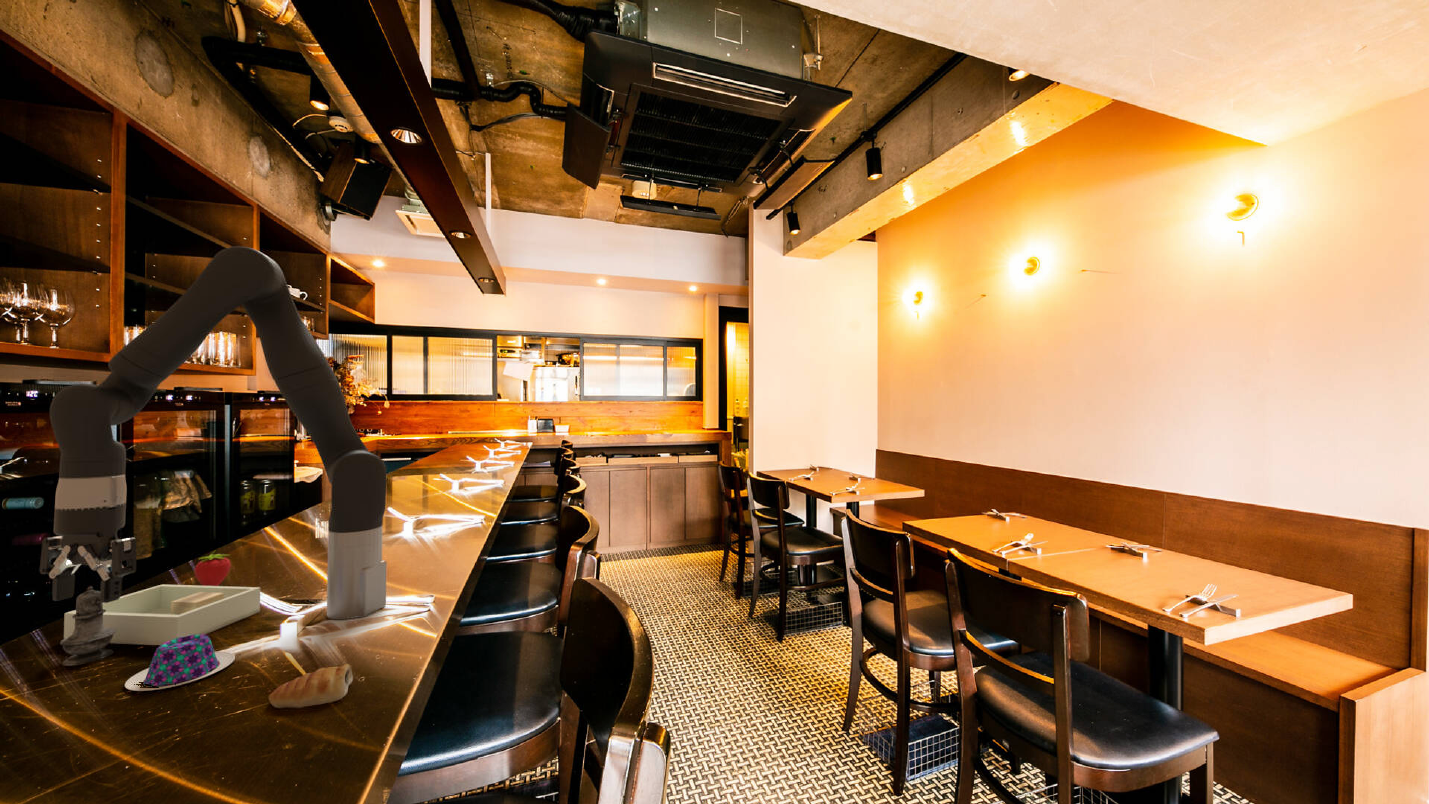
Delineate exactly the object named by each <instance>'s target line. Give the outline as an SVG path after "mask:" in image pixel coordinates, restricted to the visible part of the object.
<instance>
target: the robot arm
mask: <svg viewBox="0 0 1429 804" xmlns="http://www.w3.org/2000/svg"><path fill="white" fill-rule="evenodd" d="M241 306H242V308H243V309H244V311H245V312H246V314H247V315H248V317H249V319H250V320H251V322H252V324H253V325H254V328H255V329H256V331H257V335H258V337H259V340H260V341H259V342H260V343H261V348H262V352H263V355H264V360H265V364H266V366H267V369H268V371H269V374H270V375H271V378H272V380H273V381H274V383H275V385H276V387H277V388H278V390H279V392H280V393H281V395H282V398H283V399H284V400H285V402H286V404H287V405H288V407H289V409H290V410H291V411H292V413H293V414H294V416H295V418H296V419H297V420H298V421H299V423H300V424H301V426H302V427H303V428H304V430H305V431H306V432H307V434H308V436H309V437H310V438H311V440H312V442H313V444H314V446H315V448H316V451H317V453H318V455H319V457H320V460H321V463H322V465H323V467H324V470H325V473H326V477H327V479H328V481H329V483H330V485H331V501H330V502H331V504H330V505H331V506H330V507H331V508H330V512H329V517H328V529H327V530H328V531H327V532H328V533H327V537H328V538H327V573H326V574H327V581H326V582H327V584H326V617H327V618H329V619H332V620H345V619H346V620H347V619H353V618H360V617H362V618H363V617H367V616H368V615H370V614H372V613H374V612H376V611H378V610H379V609H382V608H383V606H384V607H385V606H387V568H388V567H387V566H388V565H387V564H388V563H387V561H386V560H383V527H384V523H383V522H384V521H383V520H384V514H385V512H386V505H387V502H386V500H387V483H388V482H387V477H388V476H387V475H388V474H387V466H386V465H385V462H384V461H383V460H382V458H380V456H378V455H377V454H374V453H372V452H370V450H369V449H368V448H367V446H366V445H365V444H364V442H363V441H362V439H361V437H360V436H359V434H358V433H357V431H356V429H355V427H354V425H353V423H352V421H351V417H350V414H349V410H348V406H347V403H346V402H347V401H346V400H345V396H344V394H343V393H344V392H343V390H342V387H341V385H340V383H339V380H338V379H337V376H336V374H335V373H334V371H333V369H332V367H331V364H330V362H329V361H328V359H327V358H326V356H325V354H324V352H323V351H322V349H321V347H320V346H319V344H318V342H316V339H315V337H314V336H313V335H312V333H311V332H310V330H309V329H308V327H307V326H306V324H305V322H304V321H303V319H302V317H301V315H300V314H299V311H298V309H297V306H296V304H295V302H294V299H293V296H292V295H291V292H290V288H289V285H288V284H287V280H286V277H285V275H284V272H283V270H282V269H281V267H280V265H279V264H278V263H277V262H276V261H275V260H274V259H272V258H271V257H270V256H268V255H266V254H265V253H263V252H261V251H259V250H257V249H256V248H255V249H254V248H251V247H248V246H239V245H237V246H231V247H226V248H224V249H222V250H220V251H218V252H217V253H216V254H215V255H214V257H213V258H212V259H211V260H210V261H209V262H208V264H207V265H206V266H205V268H204V269H203V270H202V271H201V273H200V274H199V275H198V277H197V278H196V279H195V280H194V281H193V283H192V284H191V285H190V287H188V289H187V290H186V291H185V292H184V293H183V294H182V295H181V296H180V297H179V298H178V299H177V300H176V301H175V302H174V303H173V304H172V305H171V306H170V307H169V308H168V309H167V310H165V312H164V313H163V314H161V315H160V316H159V317H158V318H157V319H155V321H153V322H152V323H151V324H150V325H148V326H147V328H145V329H144V330H143V331H142V332H141V333H139V334H138V335H136V337H134V338H133V339H132V340H131V341H130V342H128V343H127V344H126V345H125V346H123V348H122V349H120V350H119V351H117V353H116V354H114V356H112V357H111V358H110V360H109V361H108V366H107V367H108V368H109V370H110V374H108V375H107V377H106V378H105V379H104V380H103V381H102V382H101V383H99V384H91V383H80V384H79V383H78V384H73V385H69V386H66V387H64V388H62V389H61V390H59V391H58V392H57V393H56V394H55V396H53V399H52V401H51V403H50V407H49V419H50V423H51V427H52V430H53V433H54V437H55V441H56V443H57V445H58V447H59V450H60V459H59V476H58V483H57V486H56V490H55V499H54V500H55V501H54V502H55V503H54V519H53V534H55V535H56V536H51V537H50V536H49V537H45V538H43V539H42V545H41V552H40V560H39V561H40V563H39V564H40V565H39V571H38V572H39V574H41V575H45V574H47V575H48V576H49V578H50V579H51V580H52V592H51V594H52V600H53V601H57V602H58V601H63V600H66V599H71V598H73V597H74V595H75V585H76V584H75V583H76V582H75V581H76V580H75V579H76V575H75V572H76V571H77V570H78V569H79V567H80V566H81V565H83V566H89V568H90V569H91V570H92V571H96V572H97V573H98V575H99V576H100V578H101V581H100V602H101V603H108V602H111V601H115V600H118V599H119V598H120V597H121V595H122V587H123V577H124V576H127V575H129V574H133V573H135V572H137V539H136V537H126V538H125V537H124V538H119V537H118V534H117V532H118V531H119V530H120V529H123V528H124V527H125V525H126V510H127V494H128V493H127V492H128V491H127V482H126V464H127V452H126V451H127V450H126V446H125V445H124V444H123V442H119V441H116V440H115V438H114V435H113V430H112V426H117V425H120V424H123V423H125V422H128V421H129V420H131V419H132V418H133V417H135V416H136V415H138V414H139V413H140V412H141V411H142V410H143V408H144V407H145V406H146V405H147V404H148V403H149V401H150V400H151V398H152V397H153V396H154V394H155V393H156V391H157V389H158V388H159V386H160V385H161V384H162V383H163V382H164V381H165V380H167V379H168V378H169V377H170V376H171V375H172V374H174V372H175V371H177V370H178V369H179V368H180V367H181V366H182V365H183V364H185V363H186V362H187V361H188V360H189V359H190V358H191V356H193V354H195V353H196V352H197V350H198V349H199V348H200V346H201V345H202V344H203V343H204V342H205V340H206V338H207V337H208V336H209V335H210V334H211V332H212V331H213V329H214V328H215V327H216V326H217V325H218V324H219V323H220V322H221V321H222V320H223V319H225V317H227V316H228V315H229V314H230V313H232V312H234V311H235V310H236V309H238V308H239V307H241ZM53 559H55V561H54V562H53V564H51V561H52V560H53ZM123 561H125V562H126V566H124V565H123ZM109 568H111V571H110V570H109Z"/></svg>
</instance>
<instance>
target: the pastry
mask: <svg viewBox="0 0 1429 804" xmlns="http://www.w3.org/2000/svg"><path fill="white" fill-rule="evenodd" d="M353 680H354V676H353V673H352V667H351V665H350V664H348V663H344V664H343V665H342V666H328V667H321V668H317V670H315V671H314V672H308V673H305V674H304V675H302V676H298V677H296V678H294V679H293V680H288V681H287V682H284V683H283V684H280V685H279V686H278V687H277V688H276V689H275V690H274V691H273V692H271V693H270V694H269V695H268V700H269V703H270V704H271V705H272V707H274V708H277V709H284V708H299V709H301V708H305V707H310V706H312V707H313V706H316V705H323V704H327V703H333V702H336V701H340V700H342V699H343V697H345V696H346V695H347V694H348V690H349V686H350V685H352V682H353Z"/></svg>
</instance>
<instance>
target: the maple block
mask: <svg viewBox="0 0 1429 804" xmlns="http://www.w3.org/2000/svg"><path fill="white" fill-rule="evenodd" d="M222 599H224V593H211V592H199V593H196V594H193V595H190V596H187V597H184V598H181V599H178V600H175V601H172V602H171V615H180V614H183V613H185V612H188V611H191V610H194V609H197V608H199V607H202V606H205V605H208V604H211V603H213V602H216V601H219V600H222Z"/></svg>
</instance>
